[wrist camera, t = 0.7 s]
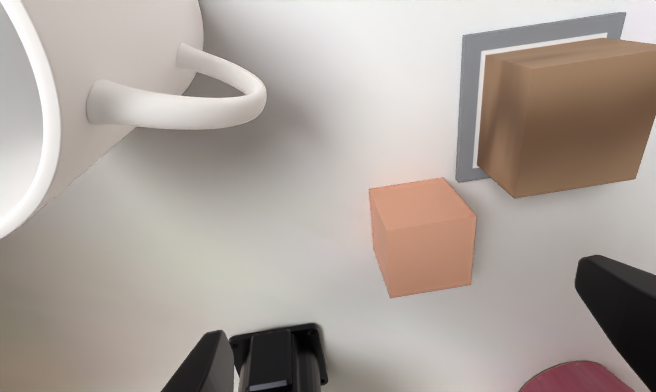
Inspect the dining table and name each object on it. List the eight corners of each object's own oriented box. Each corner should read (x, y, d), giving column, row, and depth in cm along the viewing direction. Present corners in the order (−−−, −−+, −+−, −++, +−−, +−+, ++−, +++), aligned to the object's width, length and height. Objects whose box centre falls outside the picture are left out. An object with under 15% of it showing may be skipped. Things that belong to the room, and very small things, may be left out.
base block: (577, 149, 21) (635, 179, 18) (476, 165, 21) (514, 198, 18) (602, 37, 18) (677, 47, 15) (485, 55, 18) (532, 68, 15)
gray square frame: (585, 159, 22) (591, 162, 22) (455, 179, 22) (458, 183, 22) (619, 12, 18) (627, 12, 18) (462, 35, 18) (467, 36, 18)
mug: (296, -11, 17) (313, -23, 6) (245, 156, 20) (199, 332, 10) (-7, -145, 14) (-1022, -633, 3) (-5, 79, 17) (-470, 211, 7)
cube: (440, 237, 24) (470, 284, 20) (373, 248, 24) (390, 298, 20) (442, 176, 22) (476, 215, 18) (368, 188, 22) (386, 230, 18)
